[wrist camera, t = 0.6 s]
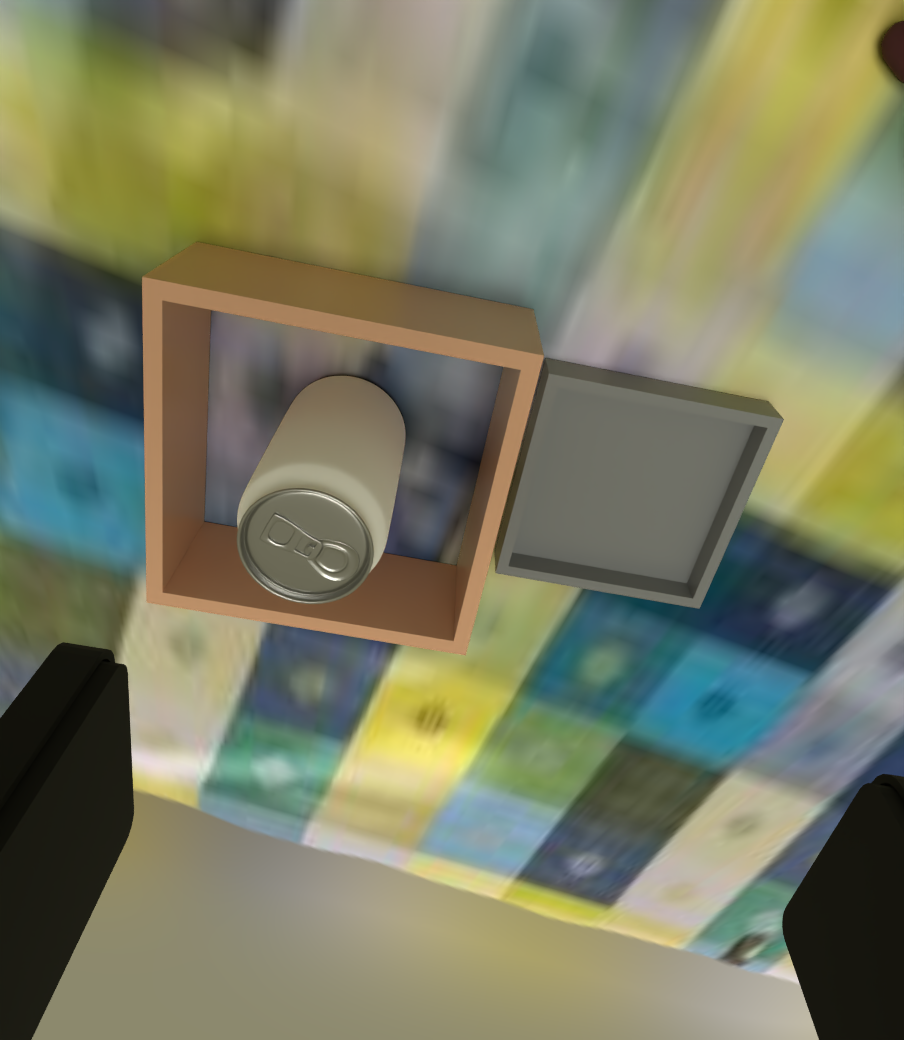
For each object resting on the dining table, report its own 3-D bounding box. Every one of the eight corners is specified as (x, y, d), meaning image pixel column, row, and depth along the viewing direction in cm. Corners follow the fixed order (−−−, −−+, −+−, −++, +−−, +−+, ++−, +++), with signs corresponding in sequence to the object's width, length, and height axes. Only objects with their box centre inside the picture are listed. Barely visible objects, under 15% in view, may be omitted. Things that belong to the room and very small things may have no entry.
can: (370, 501, 44) (337, 635, 34) (267, 445, 43) (200, 568, 32) (429, 413, 41) (413, 530, 31) (321, 348, 40) (267, 450, 29)
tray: (494, 550, 46) (495, 573, 44) (545, 357, 40) (548, 373, 38) (689, 585, 47) (699, 608, 45) (768, 401, 40) (783, 419, 39)
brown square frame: (190, 530, 46) (146, 602, 40) (196, 241, 37) (142, 276, 31) (467, 578, 47) (465, 655, 41) (533, 309, 38) (543, 355, 32)
